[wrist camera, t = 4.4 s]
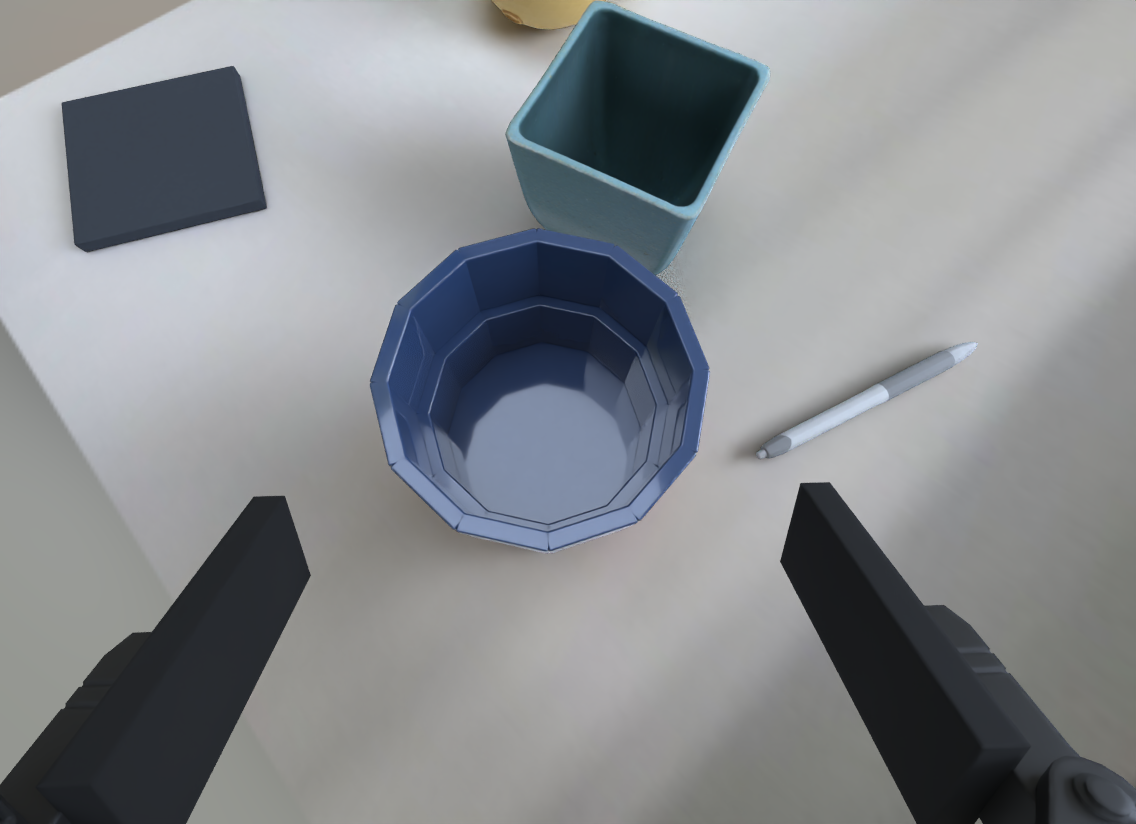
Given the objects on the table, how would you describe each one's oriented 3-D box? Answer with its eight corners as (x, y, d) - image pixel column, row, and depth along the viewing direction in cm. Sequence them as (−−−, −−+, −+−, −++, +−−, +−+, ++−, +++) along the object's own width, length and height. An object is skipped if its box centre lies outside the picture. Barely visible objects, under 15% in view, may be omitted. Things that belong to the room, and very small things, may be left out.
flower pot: (514, 254, 31) (499, 133, 22) (584, 142, 33) (595, -8, 24) (654, 320, 30) (694, 221, 21) (715, 200, 32) (776, 66, 23)
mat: (85, 252, 30) (73, 244, 29) (72, 112, 33) (60, 101, 32) (267, 208, 31) (260, 199, 30) (240, 76, 34) (233, 64, 33)
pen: (745, 451, 28) (755, 445, 27) (958, 342, 30) (978, 331, 29) (756, 468, 28) (766, 463, 26) (970, 357, 30) (989, 347, 28)
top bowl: (464, 584, 20) (418, 595, 13) (408, 365, 22) (343, 277, 15) (690, 509, 21) (757, 483, 14) (614, 307, 23) (640, 199, 16)
